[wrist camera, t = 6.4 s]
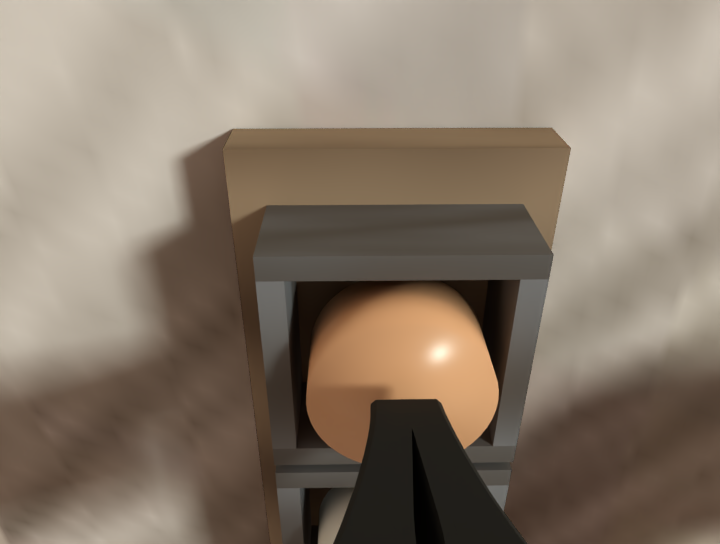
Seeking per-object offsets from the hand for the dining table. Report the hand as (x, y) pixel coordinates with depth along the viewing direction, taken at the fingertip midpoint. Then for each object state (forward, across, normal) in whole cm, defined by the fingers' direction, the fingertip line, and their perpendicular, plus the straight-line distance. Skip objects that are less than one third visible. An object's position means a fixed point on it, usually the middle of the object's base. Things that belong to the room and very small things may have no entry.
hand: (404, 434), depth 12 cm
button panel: (+6, 0, +6) cm, 9 cm away
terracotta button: (+3, 0, 0) cm, 3 cm away
